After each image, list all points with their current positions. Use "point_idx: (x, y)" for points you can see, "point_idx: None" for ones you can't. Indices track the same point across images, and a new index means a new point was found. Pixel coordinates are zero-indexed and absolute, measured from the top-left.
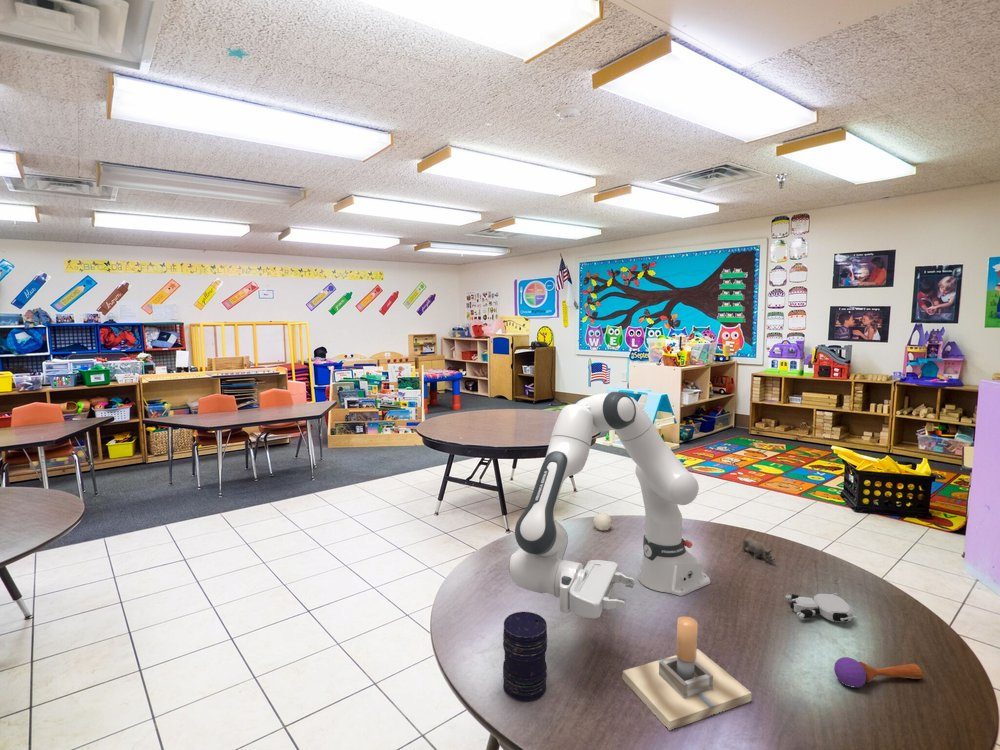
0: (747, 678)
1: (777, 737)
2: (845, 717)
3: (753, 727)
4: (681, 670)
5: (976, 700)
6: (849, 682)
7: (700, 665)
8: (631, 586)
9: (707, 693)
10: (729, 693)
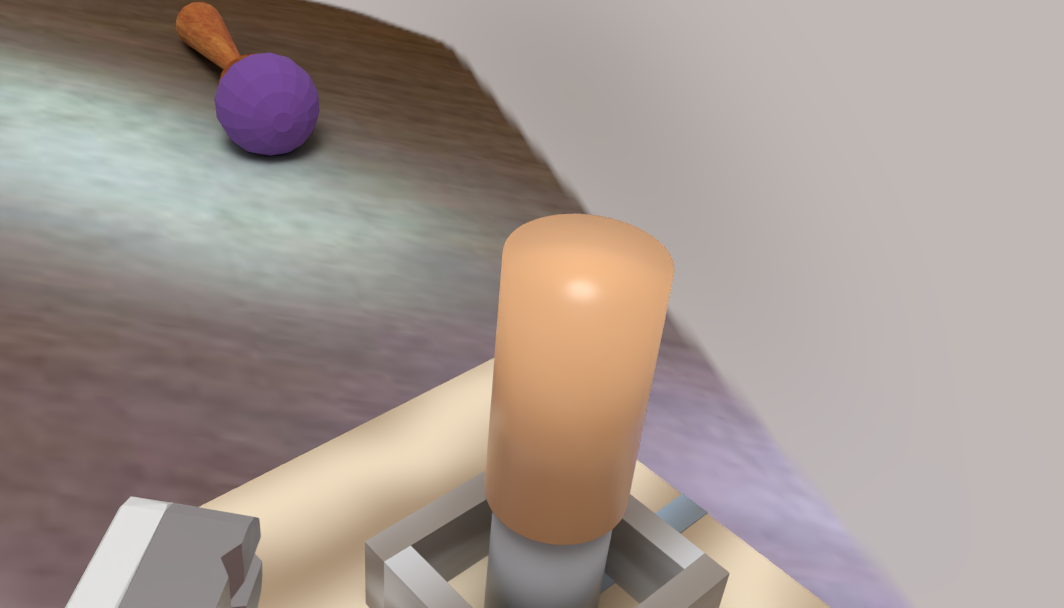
0: (323, 380)
1: (679, 349)
2: (466, 189)
3: (668, 405)
4: (603, 572)
5: (283, 3)
6: (313, 125)
7: (472, 480)
8: (253, 596)
9: None
10: None
